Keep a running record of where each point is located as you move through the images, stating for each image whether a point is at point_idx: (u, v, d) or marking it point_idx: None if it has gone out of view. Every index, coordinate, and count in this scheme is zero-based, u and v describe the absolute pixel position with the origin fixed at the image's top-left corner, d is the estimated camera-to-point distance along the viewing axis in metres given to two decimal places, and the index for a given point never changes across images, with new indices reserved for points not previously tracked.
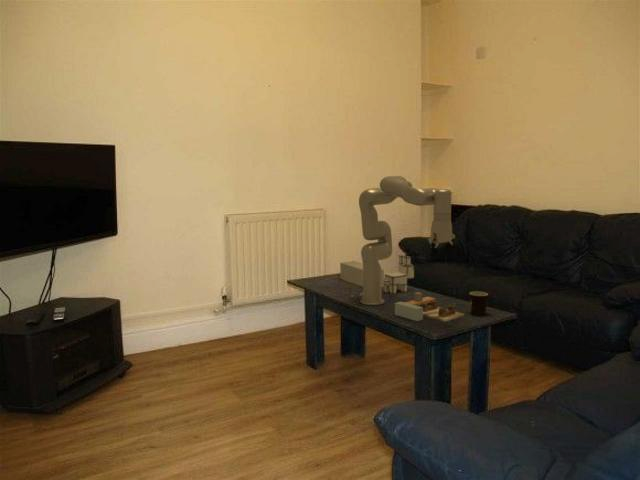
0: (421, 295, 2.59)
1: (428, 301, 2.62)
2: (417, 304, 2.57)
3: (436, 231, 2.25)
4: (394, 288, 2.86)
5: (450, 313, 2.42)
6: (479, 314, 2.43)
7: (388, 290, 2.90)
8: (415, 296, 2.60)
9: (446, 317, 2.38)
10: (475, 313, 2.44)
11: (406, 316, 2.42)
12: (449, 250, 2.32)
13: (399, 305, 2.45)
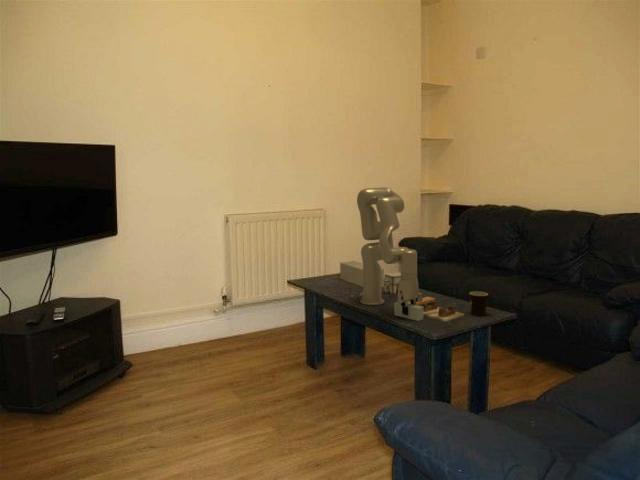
0: (421, 295, 2.59)
1: (428, 301, 2.62)
2: (417, 304, 2.57)
3: (403, 290, 2.38)
4: (394, 288, 2.86)
5: (450, 313, 2.42)
6: (479, 314, 2.43)
7: (388, 290, 2.90)
8: None
9: (446, 317, 2.38)
10: (475, 313, 2.44)
11: (406, 316, 2.42)
12: None
13: (399, 305, 2.44)
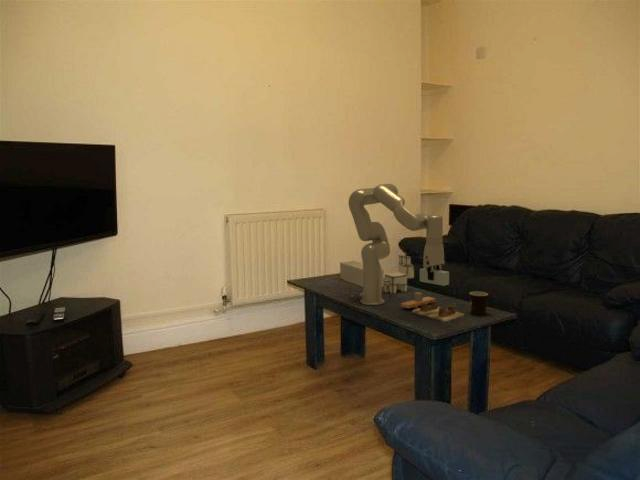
0: (421, 295, 2.59)
1: (428, 301, 2.62)
2: (417, 304, 2.57)
3: (428, 254, 2.39)
4: (394, 288, 2.86)
5: (450, 313, 2.42)
6: (479, 314, 2.43)
7: (388, 290, 2.90)
8: (415, 296, 2.60)
9: (446, 317, 2.38)
10: (475, 313, 2.44)
11: (432, 281, 2.43)
12: None
13: (424, 271, 2.45)
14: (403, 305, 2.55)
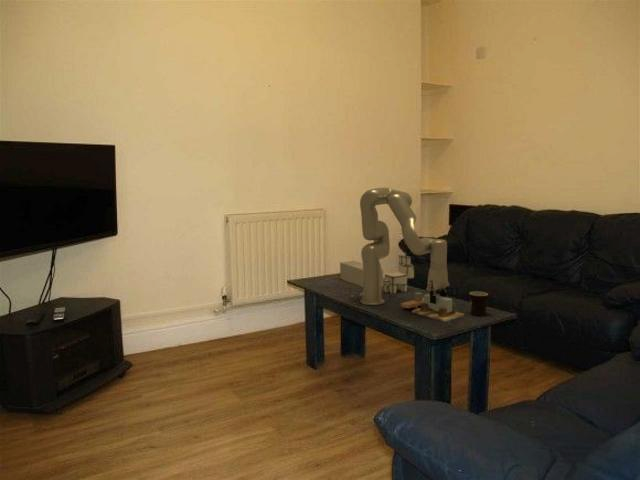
0: (421, 295, 2.59)
1: None
2: (417, 304, 2.57)
3: (433, 279, 2.41)
4: (394, 288, 2.86)
5: (450, 313, 2.42)
6: (479, 314, 2.43)
7: (388, 290, 2.90)
8: (415, 296, 2.60)
9: (446, 317, 2.38)
10: (475, 313, 2.44)
11: (435, 307, 2.45)
12: None
13: (428, 297, 2.48)
14: (403, 305, 2.55)
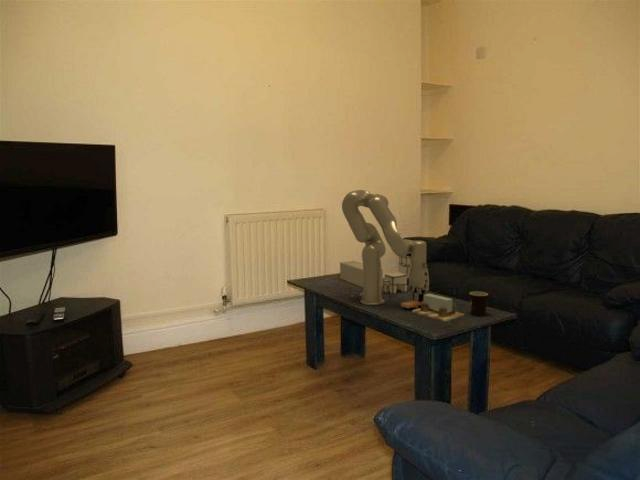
0: None
1: None
2: (417, 304, 2.57)
3: None
4: (394, 288, 2.86)
5: (450, 313, 2.42)
6: (479, 314, 2.43)
7: (388, 290, 2.90)
8: (415, 296, 2.60)
9: (446, 317, 2.38)
10: (475, 313, 2.44)
11: (435, 307, 2.45)
12: None
13: (428, 297, 2.48)
14: (403, 305, 2.55)
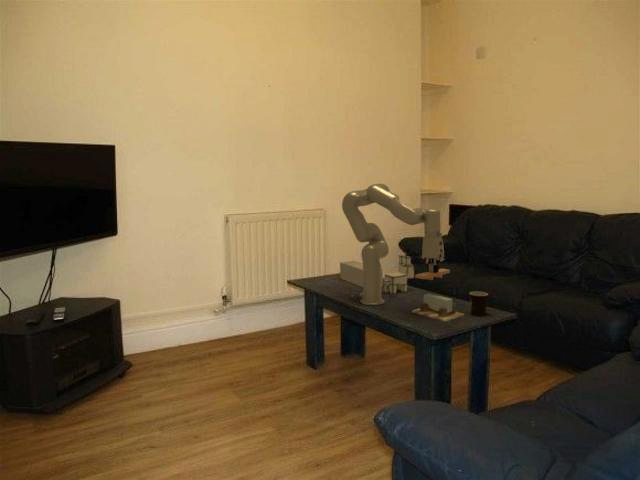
0: None
1: (443, 272, 2.50)
2: (432, 275, 2.45)
3: None
4: (394, 288, 2.86)
5: (450, 313, 2.42)
6: (479, 314, 2.43)
7: (388, 290, 2.90)
8: (430, 267, 2.48)
9: (446, 317, 2.38)
10: (475, 313, 2.44)
11: (435, 307, 2.45)
12: None
13: (428, 297, 2.48)
14: (418, 276, 2.43)
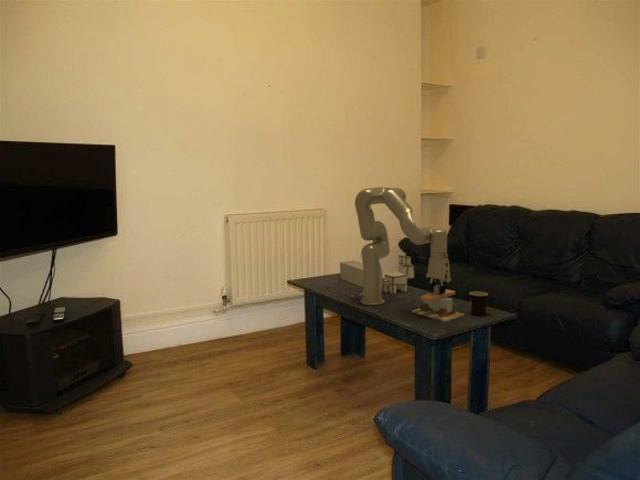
0: None
1: (448, 294, 2.47)
2: (437, 297, 2.42)
3: None
4: (394, 288, 2.86)
5: (450, 313, 2.42)
6: (479, 314, 2.43)
7: (388, 290, 2.90)
8: (435, 289, 2.45)
9: (446, 317, 2.38)
10: (475, 313, 2.44)
11: (435, 307, 2.45)
12: None
13: None
14: (422, 298, 2.41)
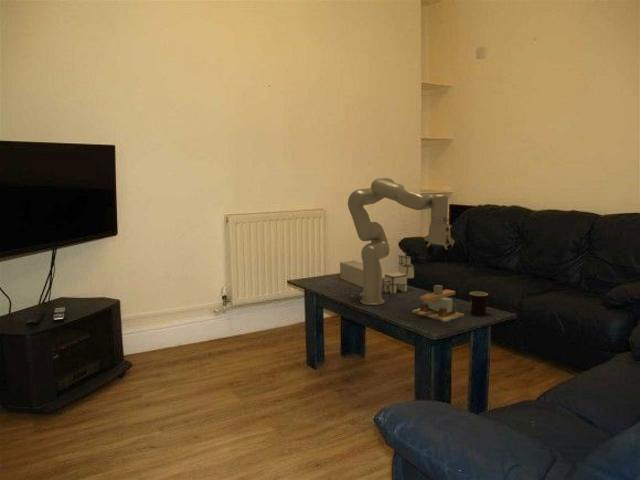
0: (441, 288, 2.45)
1: (448, 294, 2.47)
2: (437, 297, 2.42)
3: None
4: (394, 288, 2.86)
5: (450, 313, 2.42)
6: (479, 314, 2.43)
7: (388, 290, 2.90)
8: (435, 289, 2.45)
9: (446, 317, 2.38)
10: (475, 313, 2.44)
11: (435, 307, 2.45)
12: None
13: None
14: (422, 298, 2.41)
